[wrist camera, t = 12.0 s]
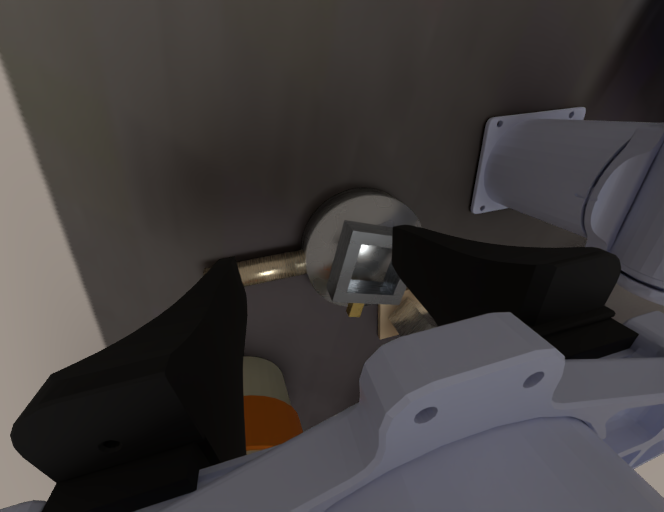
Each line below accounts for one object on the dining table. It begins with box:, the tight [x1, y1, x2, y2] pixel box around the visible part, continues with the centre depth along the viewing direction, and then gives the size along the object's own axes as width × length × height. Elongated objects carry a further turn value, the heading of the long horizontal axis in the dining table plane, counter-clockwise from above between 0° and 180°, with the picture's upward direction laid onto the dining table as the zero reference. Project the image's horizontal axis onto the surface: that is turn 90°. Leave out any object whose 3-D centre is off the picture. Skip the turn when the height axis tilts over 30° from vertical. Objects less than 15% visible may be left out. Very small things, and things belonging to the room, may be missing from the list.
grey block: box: [388, 297, 438, 337], centre depth 26 cm, size 5×3×7 cm, turn 52°
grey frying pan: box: [203, 188, 422, 307], centre depth 22 cm, size 18×10×2 cm, turn 95°
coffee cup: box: [605, 283, 664, 324], centre depth 28 cm, size 10×10×15 cm
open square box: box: [326, 220, 406, 317], centre depth 21 cm, size 6×8×2 cm
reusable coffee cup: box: [243, 356, 303, 455], centre depth 22 cm, size 13×12×15 cm
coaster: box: [378, 287, 422, 339], centre depth 29 cm, size 6×6×1 cm
